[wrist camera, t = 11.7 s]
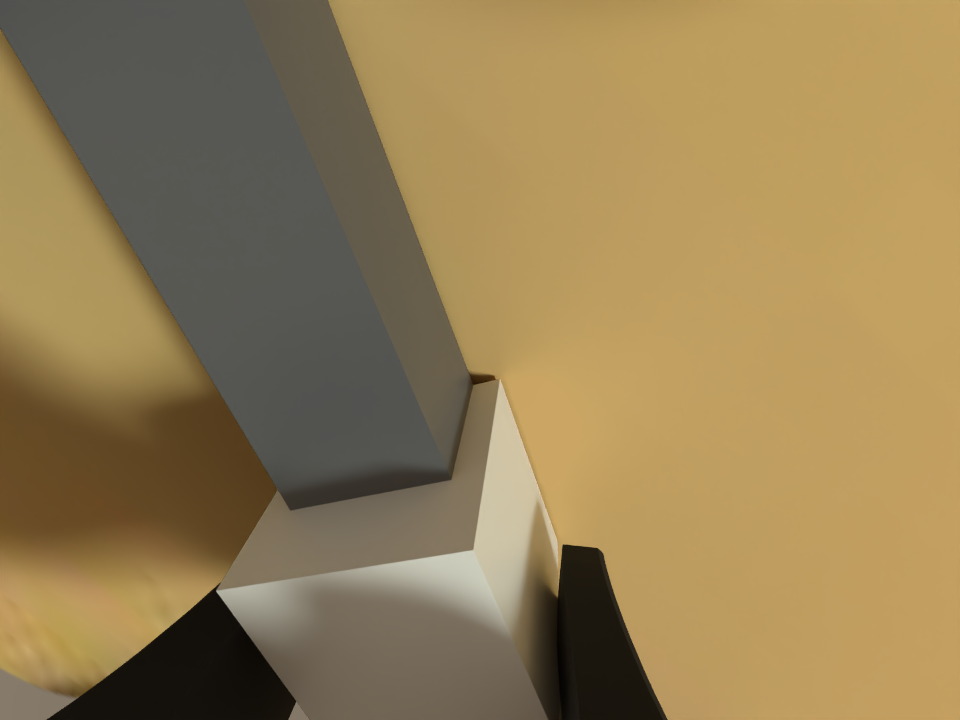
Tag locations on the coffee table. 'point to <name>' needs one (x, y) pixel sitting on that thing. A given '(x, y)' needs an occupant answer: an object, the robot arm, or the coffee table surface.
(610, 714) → the robot arm
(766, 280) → the coffee table surface
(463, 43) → the coffee table surface
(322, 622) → the plug
